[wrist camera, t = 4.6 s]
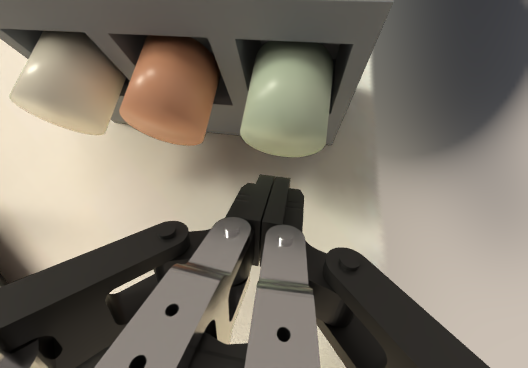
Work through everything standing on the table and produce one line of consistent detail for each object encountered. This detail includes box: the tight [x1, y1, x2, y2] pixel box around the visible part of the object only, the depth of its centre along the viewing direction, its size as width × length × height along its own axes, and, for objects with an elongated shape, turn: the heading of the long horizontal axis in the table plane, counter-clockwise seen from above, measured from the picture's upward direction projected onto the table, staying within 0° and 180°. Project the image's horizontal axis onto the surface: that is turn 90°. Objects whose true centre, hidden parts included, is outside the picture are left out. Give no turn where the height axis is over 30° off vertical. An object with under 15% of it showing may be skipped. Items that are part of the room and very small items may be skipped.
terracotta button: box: [119, 35, 220, 146], centre depth 15 cm, size 5×5×5 cm
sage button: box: [240, 41, 333, 157], centre depth 14 cm, size 5×5×5 cm
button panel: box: [0, 0, 394, 145], centre depth 18 cm, size 7×23×13 cm, turn 81°
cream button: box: [9, 31, 126, 135], centre depth 16 cm, size 5×5×5 cm
